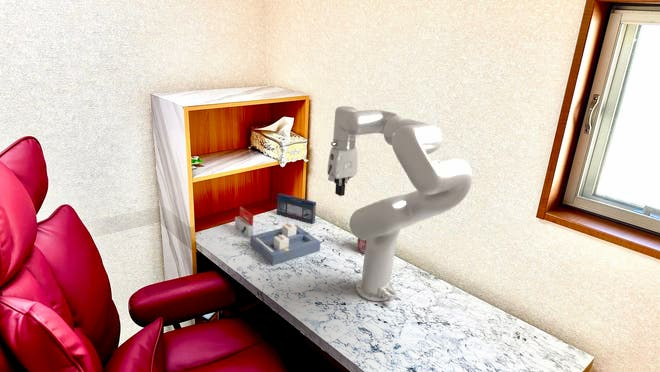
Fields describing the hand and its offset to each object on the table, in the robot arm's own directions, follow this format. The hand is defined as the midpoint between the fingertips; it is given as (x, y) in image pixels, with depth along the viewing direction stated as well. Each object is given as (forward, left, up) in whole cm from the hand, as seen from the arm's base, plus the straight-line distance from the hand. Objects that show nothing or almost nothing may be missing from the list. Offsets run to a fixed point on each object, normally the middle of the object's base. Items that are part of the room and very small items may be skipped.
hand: (339, 194), depth 151 cm
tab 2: (+21, +6, -25) cm, 33 cm away
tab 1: (+14, +14, -25) cm, 32 cm away
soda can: (0, -16, -27) cm, 32 cm away
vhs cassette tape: (+38, -8, -27) cm, 47 cm away
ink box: (+37, +18, -27) cm, 49 cm away
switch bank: (+17, +10, -27) cm, 34 cm away
